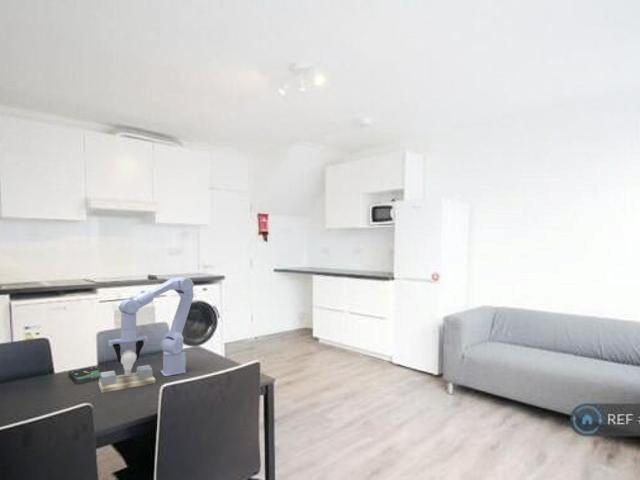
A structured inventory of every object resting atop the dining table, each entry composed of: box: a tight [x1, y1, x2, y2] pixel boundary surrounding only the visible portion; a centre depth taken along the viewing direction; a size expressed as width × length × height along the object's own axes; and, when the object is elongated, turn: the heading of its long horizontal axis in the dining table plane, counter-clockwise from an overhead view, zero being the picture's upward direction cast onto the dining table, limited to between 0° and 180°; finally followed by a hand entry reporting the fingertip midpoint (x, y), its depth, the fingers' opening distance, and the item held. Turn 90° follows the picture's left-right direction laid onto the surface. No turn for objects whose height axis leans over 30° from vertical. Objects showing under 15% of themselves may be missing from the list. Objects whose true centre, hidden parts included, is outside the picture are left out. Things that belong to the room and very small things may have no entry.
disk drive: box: [68, 366, 102, 386], centre depth 168 cm, size 10×3×15 cm
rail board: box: [98, 364, 156, 394], centre depth 161 cm, size 20×11×5 cm, turn 125°
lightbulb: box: [120, 349, 137, 377], centre depth 160 cm, size 6×6×11 cm
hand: (128, 360), depth 161 cm, fingers closed on lightbulb, 6 cm apart
